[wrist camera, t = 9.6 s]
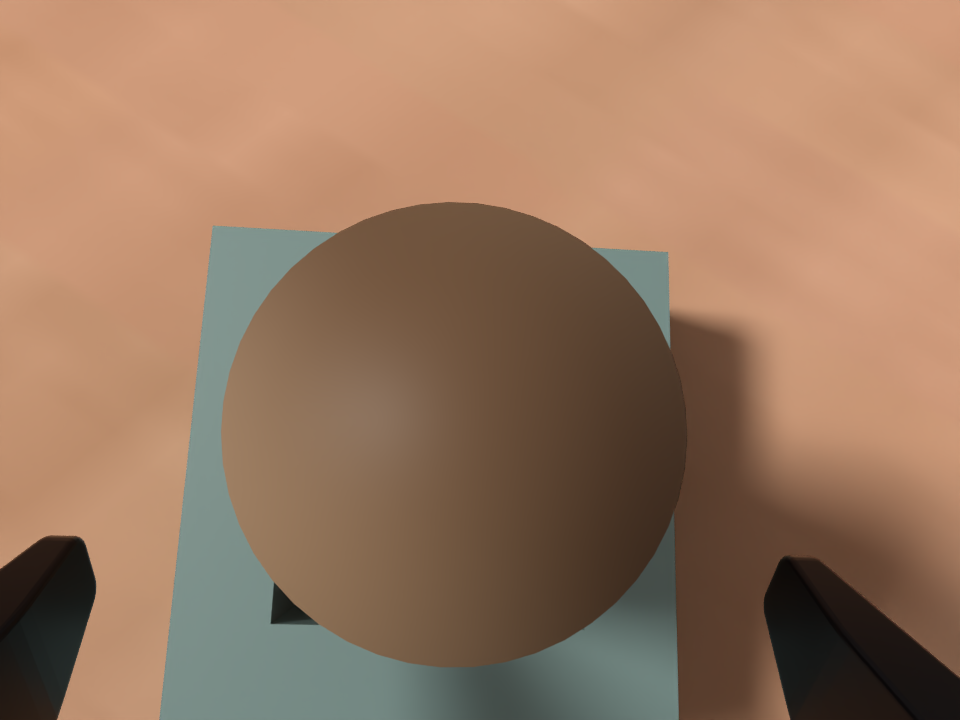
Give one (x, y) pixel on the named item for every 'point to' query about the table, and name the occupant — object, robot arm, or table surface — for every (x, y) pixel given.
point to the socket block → (322, 654)
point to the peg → (454, 434)
